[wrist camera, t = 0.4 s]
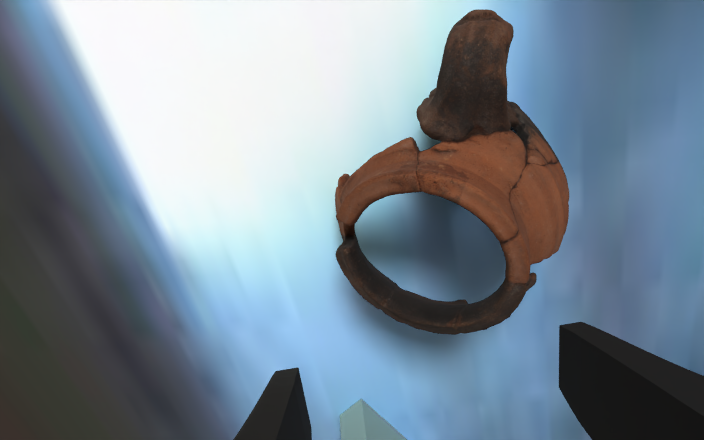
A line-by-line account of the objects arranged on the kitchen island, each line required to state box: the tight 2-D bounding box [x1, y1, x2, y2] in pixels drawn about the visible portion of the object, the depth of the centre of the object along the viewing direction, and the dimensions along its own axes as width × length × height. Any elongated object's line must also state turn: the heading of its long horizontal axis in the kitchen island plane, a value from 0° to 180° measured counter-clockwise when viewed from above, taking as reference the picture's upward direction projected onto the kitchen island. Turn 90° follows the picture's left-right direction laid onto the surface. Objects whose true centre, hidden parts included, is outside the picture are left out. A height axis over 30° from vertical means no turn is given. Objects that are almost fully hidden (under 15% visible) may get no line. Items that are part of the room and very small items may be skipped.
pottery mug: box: [335, 10, 569, 335], centre depth 18 cm, size 12×10×8 cm
